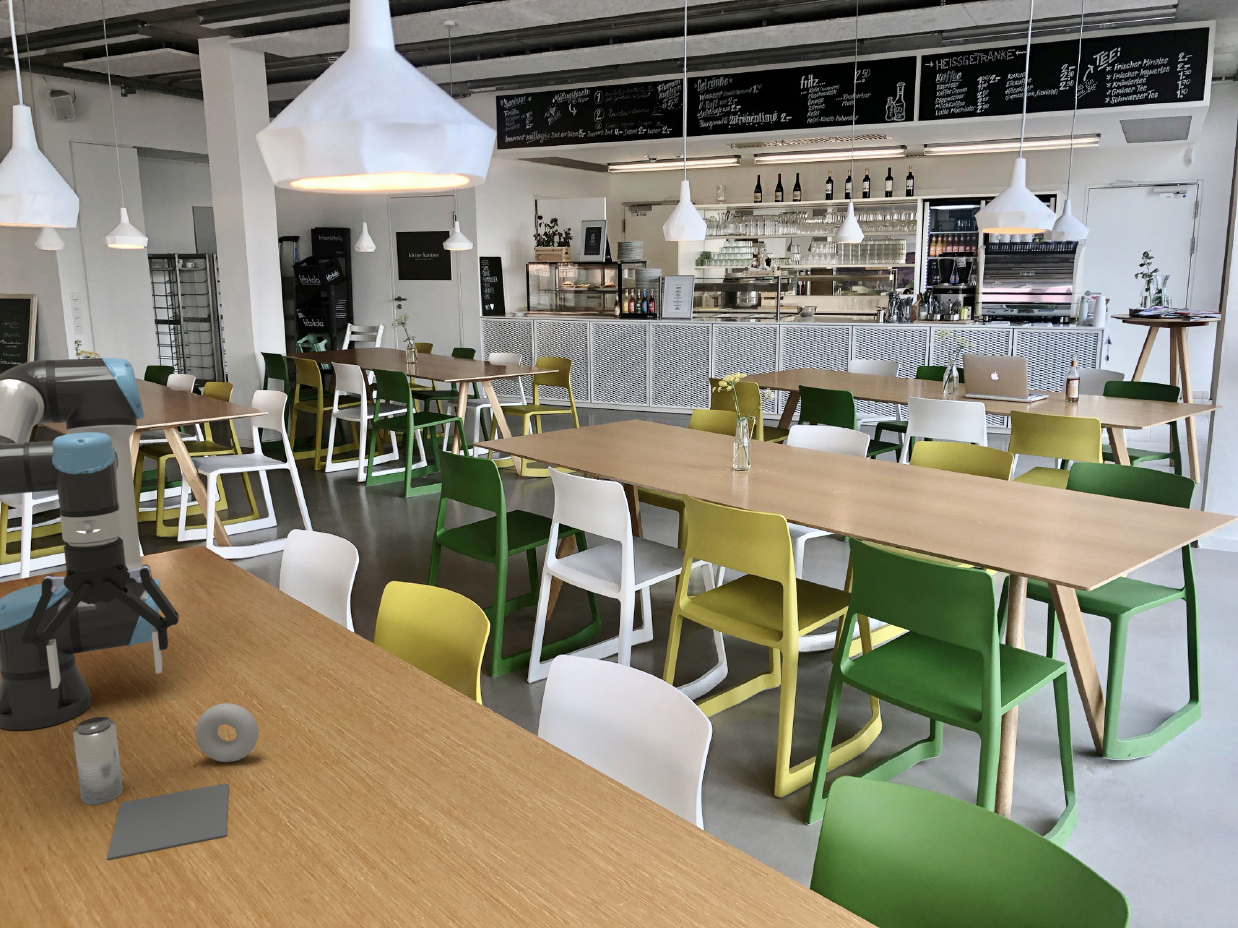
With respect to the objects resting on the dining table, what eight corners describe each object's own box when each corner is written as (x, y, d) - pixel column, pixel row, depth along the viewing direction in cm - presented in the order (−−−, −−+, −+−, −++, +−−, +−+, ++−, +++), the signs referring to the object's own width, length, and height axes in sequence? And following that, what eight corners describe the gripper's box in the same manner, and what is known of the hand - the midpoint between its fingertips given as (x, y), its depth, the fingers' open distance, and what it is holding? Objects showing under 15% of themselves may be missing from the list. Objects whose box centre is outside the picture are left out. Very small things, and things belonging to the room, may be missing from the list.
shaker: (84, 789, 143) (75, 718, 141) (124, 782, 145) (117, 712, 143) (78, 807, 138) (69, 734, 136) (120, 800, 140) (112, 728, 138)
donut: (263, 754, 154) (259, 698, 152) (256, 765, 150) (251, 708, 148) (203, 756, 153) (197, 699, 151) (194, 766, 150) (188, 709, 148)
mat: (120, 803, 139) (120, 802, 139) (228, 784, 144) (228, 782, 144) (106, 859, 125) (106, 858, 125) (226, 836, 131) (226, 834, 131)
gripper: (-15, 556, 126) (5, 701, 130) (187, 537, 135) (199, 673, 139) (-3, 542, 132) (16, 681, 136) (188, 525, 142) (200, 655, 146)
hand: (108, 677), depth 138 cm, fingers open, 13 cm apart
